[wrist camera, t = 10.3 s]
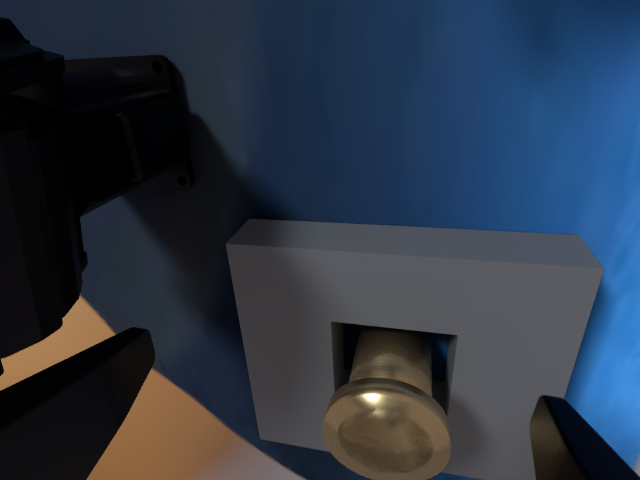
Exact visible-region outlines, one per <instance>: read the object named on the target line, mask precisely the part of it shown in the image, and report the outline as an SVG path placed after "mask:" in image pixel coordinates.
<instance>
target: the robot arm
mask: <svg viewBox="0 0 640 480" xmlns="http://www.w3.org/2000/svg"><path fill="white" fill-rule="evenodd" d="M158 62H159V63H161V65H162V71H160V70H159V69H158V67H157V63H158ZM189 154H190V147H189V142H188V137H187V132H186V127H185V122H184V117H183V112H182V107H181V103H180V102H179V100H178V95H177V90H176V85H175V80H174V75H173V70H172V66H171V63H170V61H169V60H168V58H167V57H165V56H163V55H147V56H129V57H110V58H91V59H73V60H64V56H63V55H60V54H56V53H52V52H48V51H44V50H43V49H41V48H38V47H35V46H32V45H30V42H29V40H26V39H25V38H24V37H23V35H22V34H21V33H20V32H19V30H18V29H17V28H16V27H15V25H14V24H13V23H12V22H11V20H10V19H7V18H3V17H0V376H1V375H2V374H3V372H4V369H3V366H2V363H1V359H2V358H5V357H8V356H11V355H13V354H15V353H17V352H19V351H21V350H23V349H25V348H28V347H30V346H32V345H34V344H36V343H38V342H40V341H42V340H44V339H45V338H46V337H48V336H49V335H51V334H52V333H54V332H55V331H57V330H58V329H60V327H61V326H62V323H63V321H62V318H63V317H64V316H65V315H66V314H67V313H68V312H69V310H70V309H71V308H72V306H73V305H74V304H75V303H76V301H77V300H78V299H79V296H80V292H81V287H82V283H83V281H82V272H83V270H84V269H85V267H86V266H87V264H88V261H87V253H86V252H85V251H84V249H83V241H82V233H81V224H80V217H81V216H83V215H85V214H87V213H89V212H90V211H92V210H94V209H96V208H98V207H100V206H102V205H104V204H106V203H107V202H109V201H111V200H113V199H115V198H117V197H119V196H121V195H123V194H124V193H126V192H128V191H130V190H132V189H134V188H136V189H166V190H187V189H188V188H190V187H191V186H193V184H194V175H193V170H192V165H191V160H190V155H189ZM181 177H184V178H185V179H186V183H184V182H183V181H182V179H181ZM154 361H155V350H154V346H153V342H152V338H151V334H150V332H149V331H148V330H147V329H142V328H136V327H132V328H129V329H127V330H125V331H123V332H121V333H119V334H117V335H115V336H113V337H110V338H108V339H106V340H104V341H102V342H100V343H98V344H96V345H94V346H92V347H90V348H88V349H86V350H84V351H82V352H80V353H78V354H75V355H74V356H71V357H70V358H68V359H65V360H63V361H61V362H59V363H57V364H55V365H53V366H51V367H49V368H47V369H45V370H42V371H40V372H38V373H36V374H34V375H33V376H30V377H28V378H26V379H24V380H22V381H20V382H18V383H16V384H14V385H12V386H9V387H8V388H5V389H4V390H1V391H0V480H86V479H87V478H88V476H89V474H90V473H91V471H92V470H93V468H94V467H95V465H96V464H97V462H98V460H99V459H100V457H101V456H102V454H103V453H104V451H105V450H106V448H107V447H108V445H109V443H110V442H111V440H112V439H113V437H114V436H115V434H116V433H117V431H118V429H119V428H120V426H121V425H122V423H123V421H124V420H125V418H126V416H127V414H128V412H129V411H130V408H131V406H132V405H133V403H134V401H135V399H136V397H137V395H138V393H139V391H140V389H141V387H142V385H143V383H144V381H145V379H146V378H147V375H148V374H149V372H150V370H151V368H152V366H153V364H154ZM529 429H530V439H531V446H532V454H533V461H534V468H535V476H536V480H640V477H639V476H638V475H637V474H636V473H635V472H634V471H633V469H632V468H631V467H630V466H629V465H628V464H627V463H626V462H625V461H624V460H623V459H622V458H621V457H620V456H619V455H618V454H617V453H616V452H615V451H614V450H613V449H612V448H611V447H610V446H609V445H608V444H607V442H606V441H605V440H604V439H603V438H602V437H601V436H600V435H599V434H598V433H597V432H596V431H595V430H594V429H593V428H592V427H591V426H590V425H589V424H588V423H587V422H586V421H585V420H584V419H583V418H582V417H581V415H580V414H579V413H578V412H577V411H576V410H575V409H574V408H573V407H572V406H571V405H570V404H569V403H568V402H567V401H566V400H565V399H563V398H561V397H555V396H549V395H541V396H540V397H539V399H538V401H537V404H536V407H535V409H534V412H533V415H532V417H531V420H530V427H529Z"/></svg>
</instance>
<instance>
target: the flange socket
mask: <svg viewBox="0 0 640 480" xmlns="http://www.w3.org/2000/svg"><path fill="white" fill-rule="evenodd" d="M226 249H227V255H228V260H229V266H230V271H231V277H232V283H233V288H234V294H235V300H236V305H237V311H238V317H239V322H240V328H241V333H242V339H243V345H244V350H245V356H246V362H247V367H248V373H249V379H250V384H251V390H252V396H253V401H254V407H255V412H256V418H257V424H258V429H259V435H260V439H262V440H268V441H273V442H279V443H284V444H290V445H295V446H300V447H306V448H311V449H317V450H322V451H328V452H330V451H329V449H328V448H327V446H326V444H325V441H324V438H323V433H322V426H323V422H324V418H325V414H326V410H327V407H328V403H329V401H330V398H331V397H332V395H333V394H334V393H335V392H336V391H337V390H338V389H339V388H340V387H342V386H343V385H345V384H347V383H349V379H350V374H351V370H352V369H346V368H344V338H343V323H349V324H359V325H368V326H377V327H386V328H396V329H405V330H414V331H424V332H433V333H442V334H450V337H449V345H448V353H447V361H446V370H445V378H444V381H436V380H432V398H434V399H435V400H436V401H437V403H438V404H439V405H440V406H441V407H442V409H443V410H444V412H445V414H446V416H447V418H448V421H449V427H450V443H451V455H450V458H449V461H448V463H447V465H446V466H445V468H444V469H443V470H442V471H441V472H442V473H448V474H453V475H458V476H464V477H469V478H475V479H480V480H536V476H535V468H534V461H533V454H532V446H531V439H530V429H529V427H530V420H531V417H532V415H533V412H534V409H535V407H536V404H537V401H538V399H539V397H540V396H541V395H549V396H555V397H561V398H563V399H564V397H565V393H566V390H567V387H568V384H569V381H570V377H571V374H572V371H573V368H574V364H575V361H576V358H577V355H578V352H579V348H580V345H581V342H582V339H583V336H584V332H585V329H586V326H587V323H588V320H589V316H590V313H591V310H592V307H593V304H594V300H595V297H596V294H597V291H598V287H599V284H600V281H601V278H602V275H603V271H604V268H603V266H602V265H601V264H600V262H599V261H598V260H597V258H596V257H595V256H594V254H593V253H592V252H591V250H590V249H589V248H588V247H587V245H586V244H585V243H584V241H583V240H582V239H581V237H580V236H579V235H569V234H549V233H529V232H509V231H489V230H469V229H448V228H428V227H408V226H388V225H368V224H347V223H327V222H307V221H287V220H267V219H249V220H248V221H247V222H246V223H245V224H244V225H243V226H242V227H241V228H240V229H239V230H238V231H237V232H236V233H235V234H234V235H233V236H232V238H231V239H230V240H229V241H228V242H227V243H226Z"/></svg>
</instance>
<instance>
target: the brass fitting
mask: <svg viewBox="0 0 640 480" xmlns="http://www.w3.org/2000/svg"><path fill="white" fill-rule="evenodd" d="M322 433H323V438H324V441H325V444H326V446H327V448H328V449H329V451H330V452H331V454H332V455H333V456H334V457H335V458H336V459H337V460H338V461H339V462H340V463H341V464H343V465H344V466H346V467H347V468H348V469H350V470H352V471H353V472H355V473H357V474H359V475H362V476H364V477H366V478H369V479H372V480H427V479H430V478H432V477H434V476H435V475H437V474H438V473H440V472H441V471H442V470H443V469H444V468H445V466H446V465H447V463H448V461H449V458H450V455H451V443H450V427H449V421H448V418H447V416H446V414H445V412H444V410H443V409H442V407H441V406H440V405H439V404H438V403H437V401H436V400H435V399H434V398H432V368H431V333H430V332H424V331H414V330H405V329H396V328H386V327H377V326H368V325H361V329H360V334H359V338H358V343H357V347H356V352H355V356H354V361H353V365H352V370H351V374H350V379H349V383H347V384H345V385H343V386H342V387H340V388H339V389H338V390H337V391H336V392H335V393H334V394H333V395H332V397H331V398H330V401H329V403H328V407H327V410H326V414H325V418H324V422H323V426H322Z"/></svg>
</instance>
